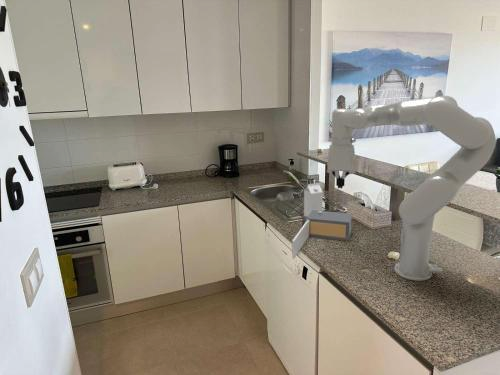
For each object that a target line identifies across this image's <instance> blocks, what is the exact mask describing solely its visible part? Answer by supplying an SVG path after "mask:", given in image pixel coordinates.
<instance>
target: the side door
mask: <svg viewBox="0 0 500 375" xmlns="http://www.w3.org/2000/svg"><path fill="white" fill-rule="evenodd" d="M309 233H310V220H309V219H308V220H307V221H306V223H305V224H304V225H303V227H302V226H301V228H300V229H299V231H298V232H297V233H296V235H295V236H294V238H293V239H292V240H291V254H292V259H293V260H295V258H296V257H297V256H298V254H299V252H300V251H301V249H302V248H303V246H304V245H305V243H306V242H307V240H308V238H309V237H310V236H309Z"/></svg>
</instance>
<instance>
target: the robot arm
mask: <svg viewBox="0 0 500 375" xmlns="http://www.w3.org/2000/svg"><path fill="white" fill-rule="evenodd" d="M423 125H431V126H432V127H433V128H434V129H436V130H437V131H438V132H440V133H441V134H442V135H444V136H446V137H447V138H448V139H449V140H451V141H452V142H454V143H455V144H457V145H458V146H460V148H459V149H458V150H457V151H456V152H455V153H454V154H453V155H451V157H450V158H449V159H448V160H447V161H446V162H445V163H444V164H443V165H442V166H441V167H439V169H436V170H435V171H434V172H432V173H431V174H430V175H429V176H428V177H427V178H426V179H425V180H424V182H422V183H421V184H420V185H419V186H418V187H417V188H416V189H415V190H413V191H411V192H410V193H409V194H407V195H406V197H405V198H404V199H403V200H402V202H401V203H400V204H399V207H398V215H399V217H400V219H401V220H402V222H403V223H402V230H401V231H402V233H401V241H400V251H399V262H398V263H395V265H394V269H393V270H394V272H395V273H396V274H397V275H398V276H399V277H402V278H404V279H406V280H409V281H410V280H411V281H415V282H416V281H418V282H422V281H427V280H429V279H431V277H432V275H433V273H437V274H443V267H439V266H438V264H431V263H430V261H429V260H430V249H431V242H432V236H433V227H434V220H435V215H436V214H438V212H440V211H441V210H443V208H445V207H446V206H447V205H448V204H449V203H450V202H452V200H454V198H456V196H457V193H458V192H459V190H460V189H461V187H463V186H464V184H466V183H467V182H468V181H469V180H470V179H471V178H472V177H474V175H476V174H477V173H478V172H479V171H480V170H482V168H483V167H484V166H485V165H486V164H487V163H488V162H489V160H490V158H491V157H492V155H493V153H494V150H495V146H496V134H495V130H494V128H493V125H492V124H491V121H489V120H488V119H486V118H484V117H481V116H480V117H479V116H476V117H475V116H474V115H472V114H470V113H469V112H467V111H466V110H465V109H463V108H461V107H460V106H459V105H458V102H457V100H456V99H455V98H454V97H452V96H449V95H440V96H439V95H438V96H431V97H424V98H416V99H410V100H402V101H398V102H394V103H390V104H380V105H374V106H373V105H372V106H365V107H361V108H355V109H354V108H353V109H351V108H336V109H333V111H332V113H331V143H330V145H329V148H328V153H327V164H326V165H327V168H326V173H328V174H331V175H333V176H334V178H335V179H336V184H335V185H336V186H337V189H343V187H345V182H346V181H345V179H346V177H348V176H350V175H355V173H356V170H355V165H356V161H355V160H356V154H355V153H356V152H355V145H354V144H353V143H356V142H357V140H356V138H353V130H355V131H356V130H357V131H360V130H364V129H368V128H371V127H379V126H380V127H381V126H398V127H411V126H412V127H413V126H423ZM340 172H342V174H341V175H340Z"/></svg>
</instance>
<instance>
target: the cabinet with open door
mask: <svg viewBox="0 0 500 375" xmlns="http://www.w3.org/2000/svg"><path fill="white" fill-rule="evenodd" d="M352 214H353V213H350V212H349V213H348V212H338V211H335V212H334V211H325V210H322V211H316V210H312V211H311V213H310V215H309V216H304V215H303V217H302V222H301V225H302V226H301V228H302V227H303V225H304V224H305V223H306V221H307V220H308V219H309V220H310V233H309V237H312V238H321V239H327V240H328V239H329V240H338V241H347V242H349V241H350V236H351V234H352V220H353V218H352V217H353V215H352Z"/></svg>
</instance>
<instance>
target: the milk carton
mask: <svg viewBox="0 0 500 375" xmlns="http://www.w3.org/2000/svg"><path fill="white" fill-rule="evenodd" d="M323 193H324V192H323V189H322V187H321V185H320V182H317V183H316V182H315V183H308V184H307V186H306V187H305V189H304V190H303V217H304V216H309V215H310V213H311V211H312V210H316V211H323V200H324V199H323V198H324V194H323Z"/></svg>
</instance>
